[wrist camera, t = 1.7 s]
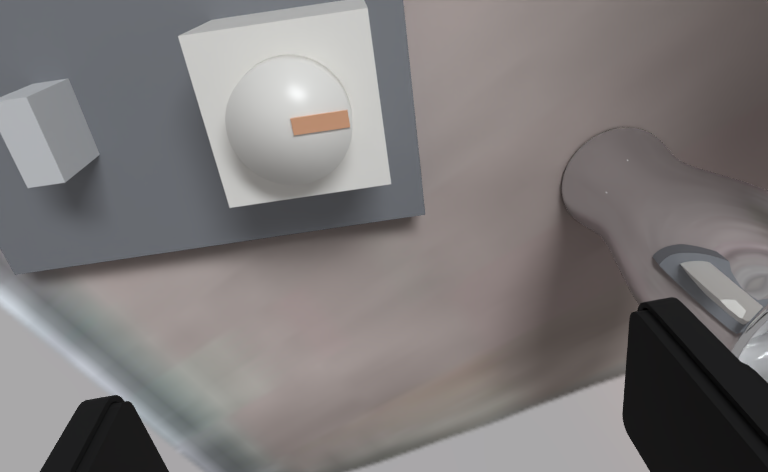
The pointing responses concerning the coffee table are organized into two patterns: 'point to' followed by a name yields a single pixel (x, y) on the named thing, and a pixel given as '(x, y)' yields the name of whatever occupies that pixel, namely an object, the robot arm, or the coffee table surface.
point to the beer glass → (678, 233)
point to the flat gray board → (154, 135)
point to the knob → (290, 101)
